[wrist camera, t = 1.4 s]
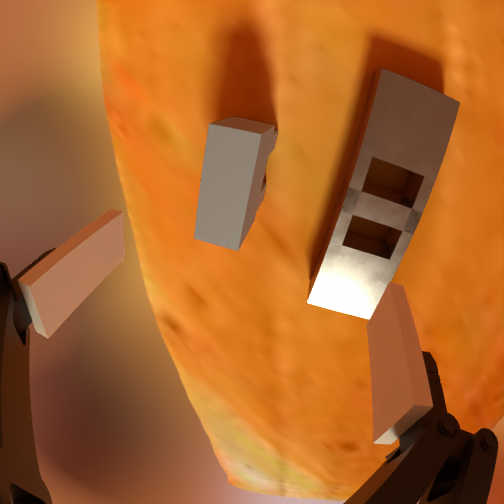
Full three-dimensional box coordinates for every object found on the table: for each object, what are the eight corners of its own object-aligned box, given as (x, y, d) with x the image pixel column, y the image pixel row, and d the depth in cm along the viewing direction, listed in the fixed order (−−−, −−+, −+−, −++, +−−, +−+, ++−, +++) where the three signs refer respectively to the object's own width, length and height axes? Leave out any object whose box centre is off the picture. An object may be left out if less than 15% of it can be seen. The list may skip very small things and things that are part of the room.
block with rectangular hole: (374, 71, 24) (382, 68, 21) (444, 100, 23) (459, 102, 20) (309, 282, 38) (306, 302, 35) (367, 298, 37) (369, 319, 34)
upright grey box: (242, 113, 30) (209, 123, 21) (280, 121, 29) (261, 134, 21) (227, 199, 35) (194, 238, 26) (260, 207, 34) (238, 251, 26)
